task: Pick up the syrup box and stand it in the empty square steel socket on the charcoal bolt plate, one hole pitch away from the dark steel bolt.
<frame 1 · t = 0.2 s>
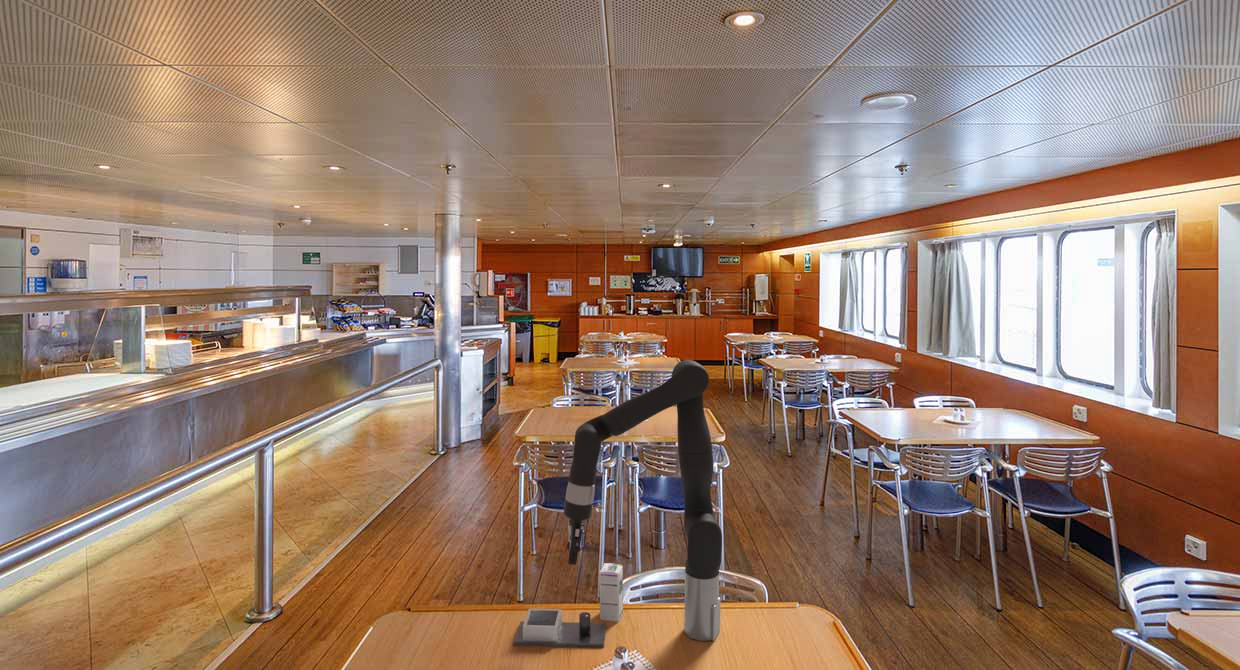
hand: (571, 556, 169), 22 cm above the table, tool pointing down, fingers open, 8 cm apart
syrup box: (611, 616, 181), on the table
bolt plate: (561, 635, 171), on the table
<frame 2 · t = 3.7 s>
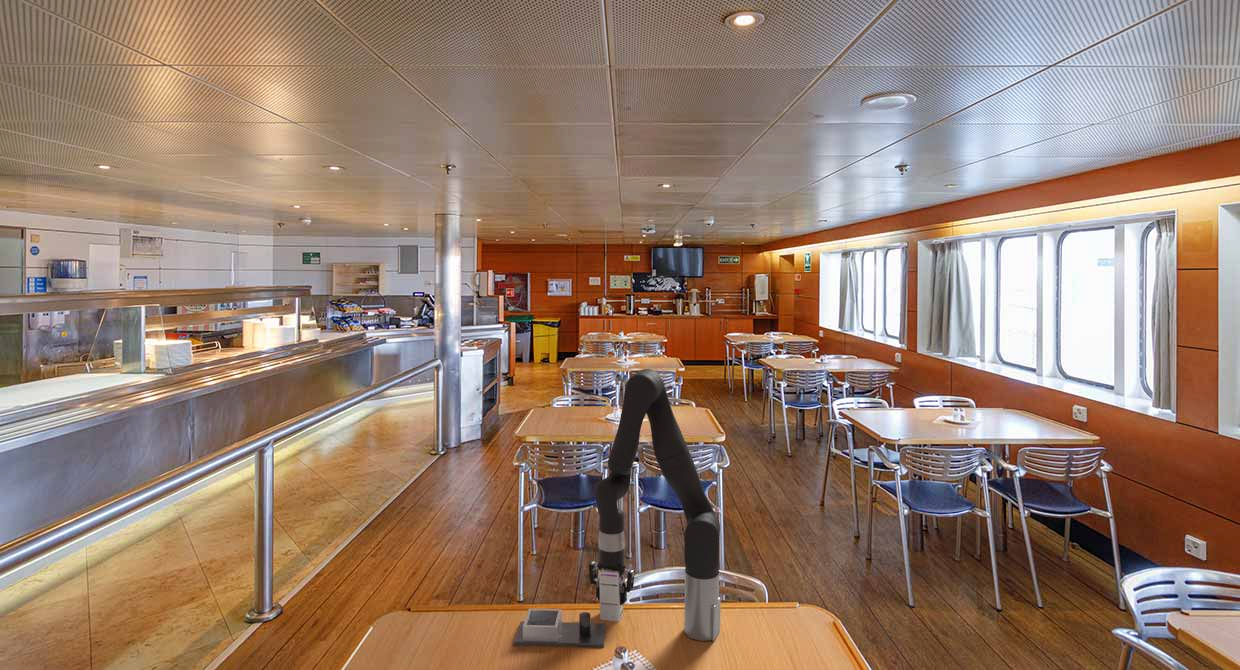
hand: (611, 601, 181), 4 cm above the table, tool pointing down, fingers closed on syrup box, 6 cm apart
syrup box: (611, 616, 181), on the table, touching gripper
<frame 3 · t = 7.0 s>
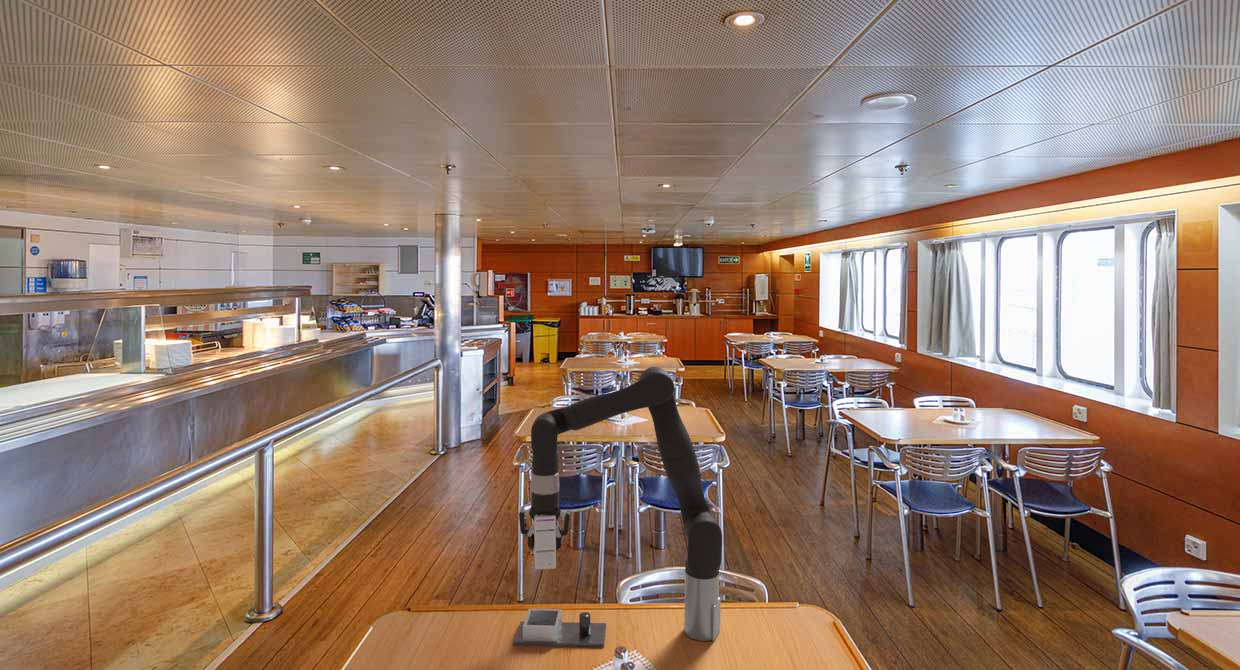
hand: (544, 548, 169), 24 cm above the table, tool pointing down, fingers closed on syrup box, 6 cm apart
syrup box: (544, 565, 170), point 19 cm above the table, touching gripper
when the fingers open (7 cm above the table, at t = 10.3 s): syrup box drops 1 cm, resting on bolt plate.
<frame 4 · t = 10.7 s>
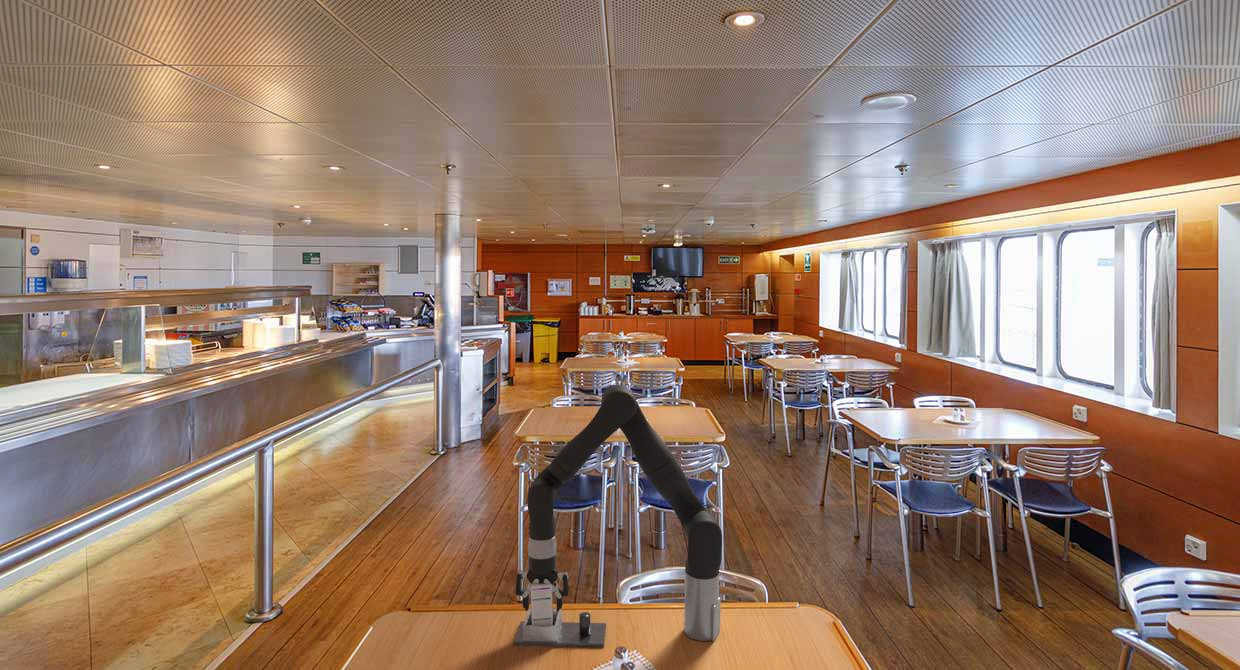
hand: (542, 609, 170), 7 cm above the table, tool pointing down, fingers open, 8 cm apart
syrup box: (541, 632, 171), point 1 cm above the table, touching bolt plate
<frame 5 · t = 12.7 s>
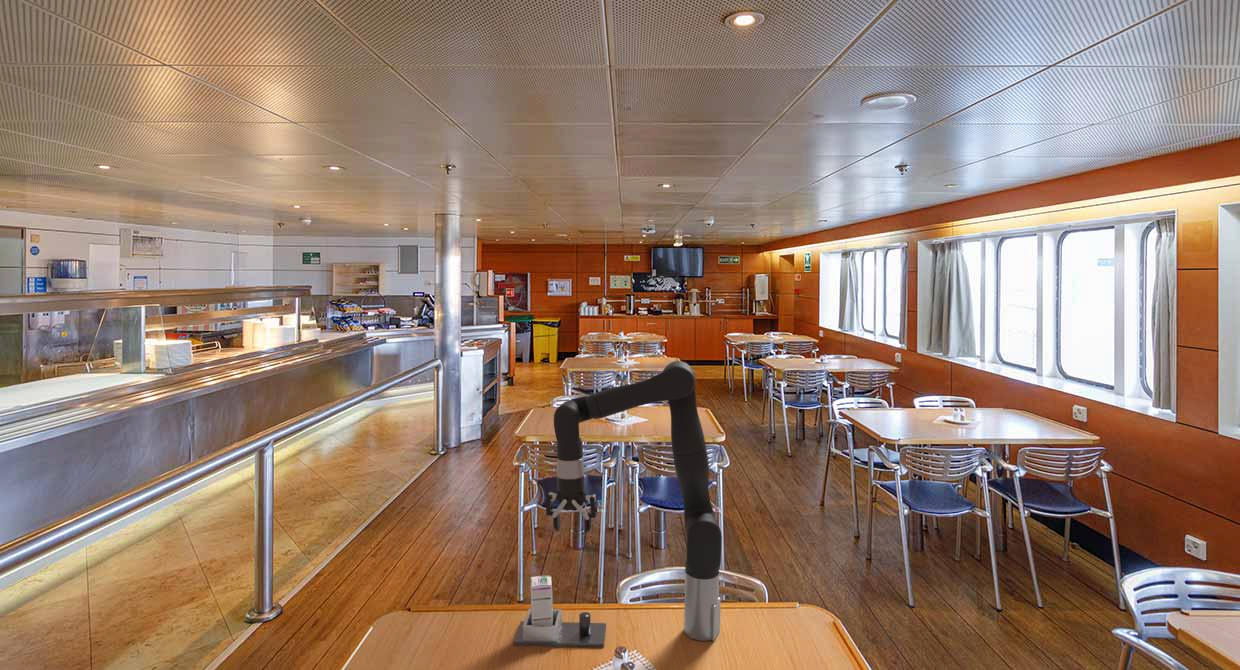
hand: (572, 530, 175), 27 cm above the table, tool pointing down, fingers open, 8 cm apart
nothing on the table moved.
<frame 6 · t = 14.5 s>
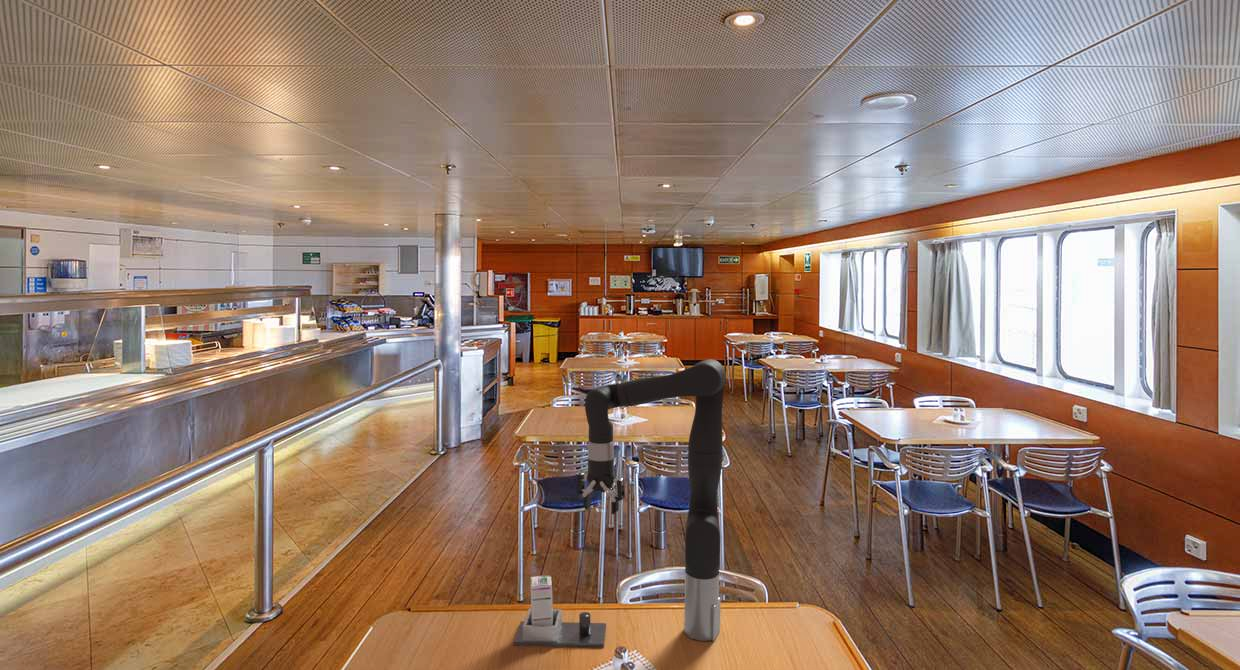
hand: (600, 511, 181), 30 cm above the table, tool pointing down, fingers open, 8 cm apart
nothing on the table moved.
at the end: syrup box 0.3 cm from the target spot on the bolt plate, point 0.8 cm above the bolt plate's base; syrup box tilted 0°; the gripper is holding nothing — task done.
